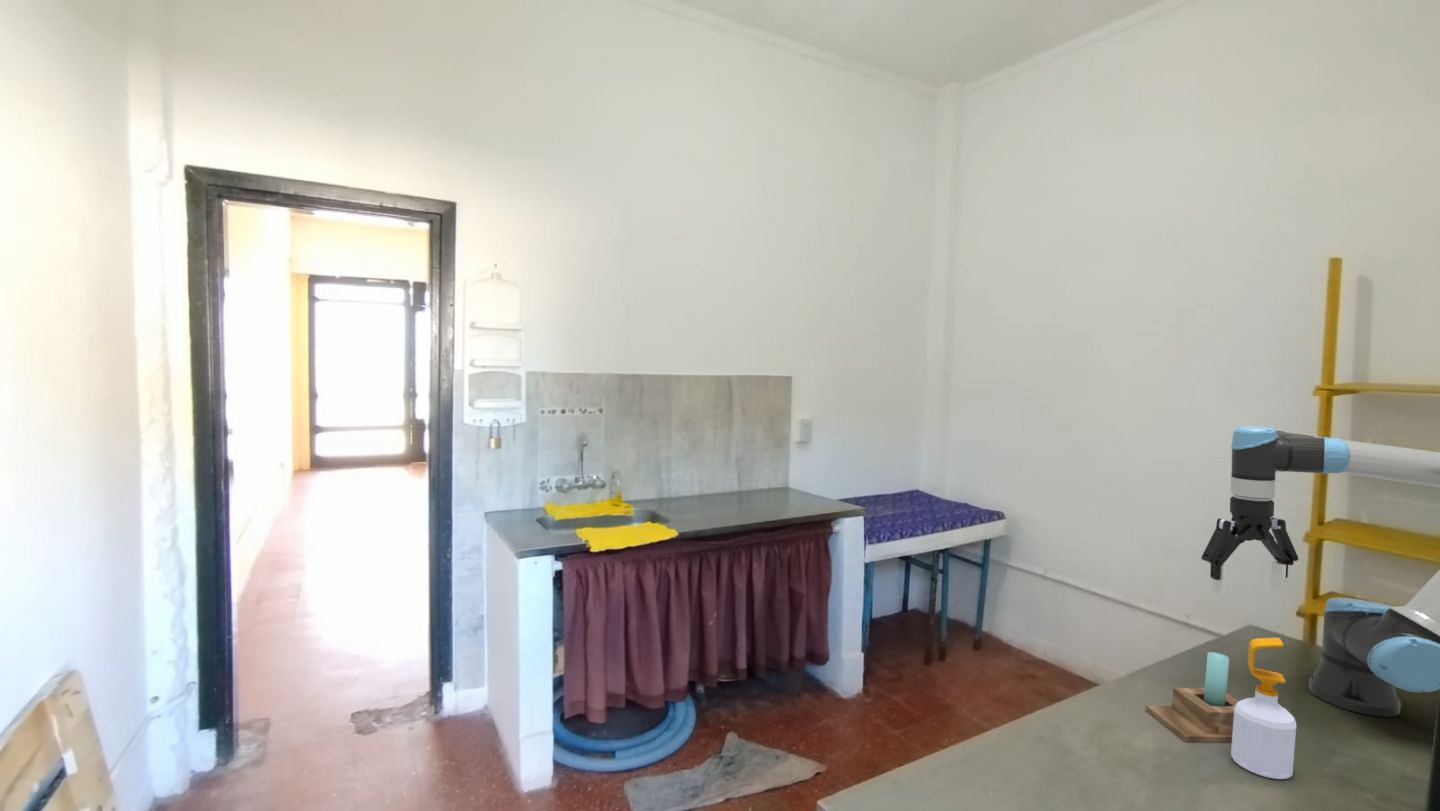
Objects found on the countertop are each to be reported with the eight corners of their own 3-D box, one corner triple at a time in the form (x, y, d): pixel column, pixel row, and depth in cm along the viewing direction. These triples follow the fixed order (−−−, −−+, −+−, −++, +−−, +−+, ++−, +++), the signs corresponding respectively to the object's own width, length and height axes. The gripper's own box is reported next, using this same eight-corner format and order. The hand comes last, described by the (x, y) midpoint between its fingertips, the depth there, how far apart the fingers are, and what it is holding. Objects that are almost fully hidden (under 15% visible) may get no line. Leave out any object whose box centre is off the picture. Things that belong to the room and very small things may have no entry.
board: (1235, 711, 144) (1237, 686, 144) (1283, 743, 132) (1285, 715, 132) (1145, 710, 144) (1147, 685, 144) (1185, 742, 132) (1187, 714, 132)
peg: (1214, 716, 140) (1220, 652, 139) (1227, 725, 136) (1233, 660, 135) (1197, 715, 140) (1203, 651, 139) (1210, 725, 136) (1216, 659, 135)
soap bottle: (1297, 786, 119) (1308, 653, 117) (1233, 769, 123) (1243, 641, 122) (1287, 762, 126) (1297, 636, 125) (1227, 746, 131) (1236, 625, 129)
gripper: (1290, 493, 148) (1286, 586, 150) (1184, 495, 147) (1181, 588, 148) (1322, 499, 141) (1318, 597, 142) (1211, 501, 140) (1207, 600, 141)
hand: (1248, 593), depth 145 cm, fingers open, 13 cm apart
